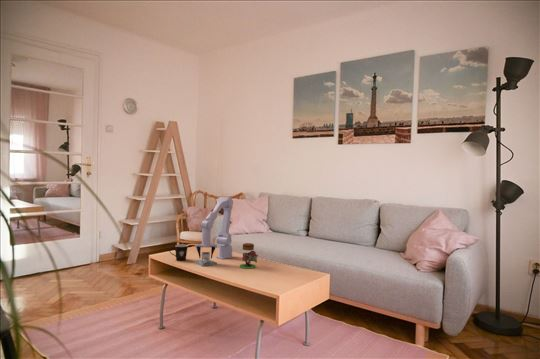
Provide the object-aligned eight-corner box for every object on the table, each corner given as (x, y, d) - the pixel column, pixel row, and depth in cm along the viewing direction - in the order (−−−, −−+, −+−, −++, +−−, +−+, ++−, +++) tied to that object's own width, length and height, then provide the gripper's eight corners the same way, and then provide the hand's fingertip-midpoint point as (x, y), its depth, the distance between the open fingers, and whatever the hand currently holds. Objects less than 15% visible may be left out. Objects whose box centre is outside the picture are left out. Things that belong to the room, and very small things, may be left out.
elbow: (201, 260, 246) (202, 252, 245) (209, 260, 246) (209, 252, 246) (200, 264, 236) (201, 255, 236) (209, 264, 237) (209, 255, 237)
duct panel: (208, 260, 251) (208, 254, 251) (217, 264, 242) (217, 258, 242) (194, 262, 244) (194, 256, 244) (202, 266, 235) (202, 260, 235)
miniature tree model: (255, 269, 232) (256, 246, 231) (236, 268, 234) (237, 245, 234) (259, 265, 243) (260, 243, 243) (241, 263, 246) (242, 241, 245)
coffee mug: (189, 258, 254) (189, 244, 254) (184, 261, 246) (185, 247, 245) (173, 257, 255) (173, 243, 255) (168, 260, 247) (168, 246, 246)
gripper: (195, 239, 238) (194, 259, 238) (217, 239, 240) (216, 259, 240) (195, 237, 245) (195, 256, 245) (217, 237, 247) (216, 256, 247)
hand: (205, 258), depth 243 cm, fingers open, 7 cm apart
